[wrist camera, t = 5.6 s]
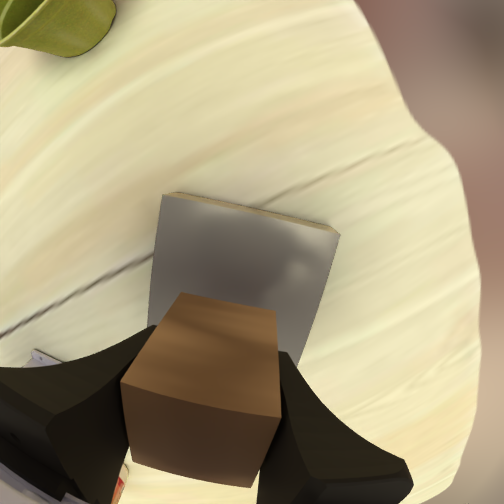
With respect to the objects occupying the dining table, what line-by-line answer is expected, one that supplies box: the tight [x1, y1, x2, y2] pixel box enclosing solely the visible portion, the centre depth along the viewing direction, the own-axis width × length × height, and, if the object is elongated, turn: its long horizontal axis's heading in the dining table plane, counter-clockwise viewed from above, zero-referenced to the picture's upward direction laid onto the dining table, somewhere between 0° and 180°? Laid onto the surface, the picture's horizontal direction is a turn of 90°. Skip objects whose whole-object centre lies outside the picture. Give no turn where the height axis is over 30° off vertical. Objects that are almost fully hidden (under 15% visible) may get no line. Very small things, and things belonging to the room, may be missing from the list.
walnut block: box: [120, 292, 281, 488], centre depth 9 cm, size 4×4×6 cm
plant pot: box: [0, 0, 116, 57], centre depth 10 cm, size 9×9×9 cm
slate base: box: [147, 192, 340, 367], centre depth 18 cm, size 10×10×3 cm
